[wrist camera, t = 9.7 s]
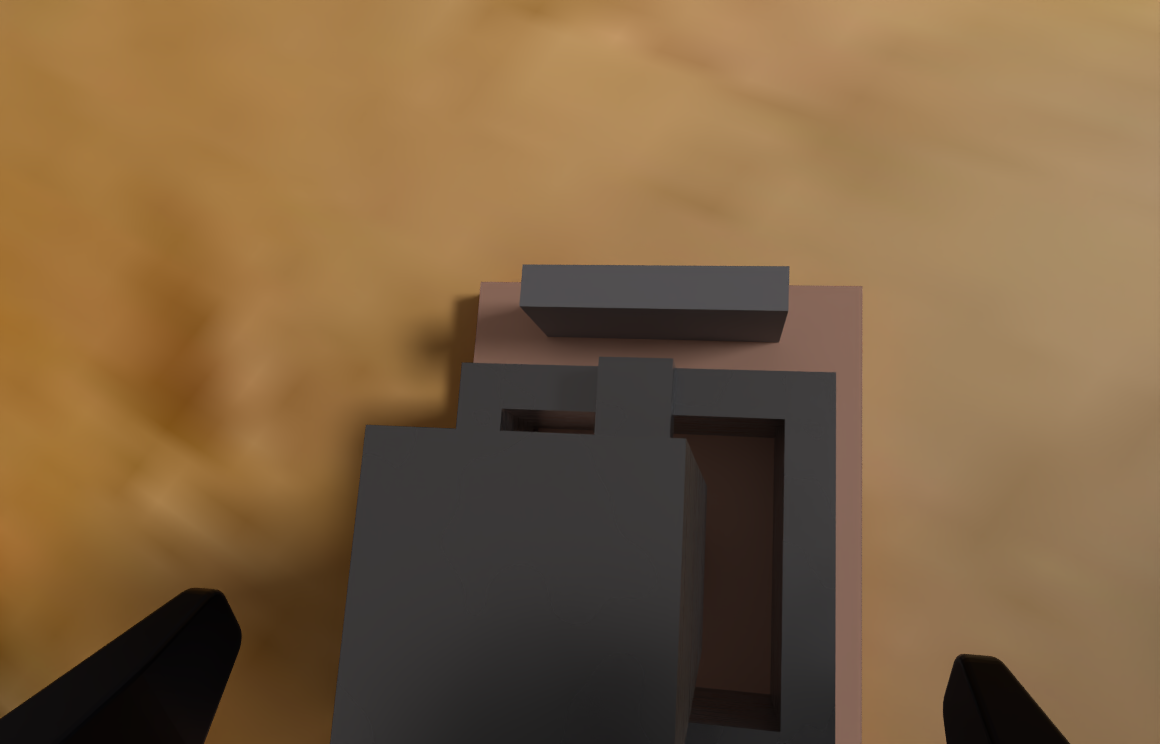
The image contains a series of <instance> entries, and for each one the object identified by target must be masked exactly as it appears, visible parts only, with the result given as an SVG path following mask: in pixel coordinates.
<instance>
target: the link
mask: <svg viewBox="0 0 1160 744" xmlns="http://www.w3.org/2000/svg"><path fill="white" fill-rule="evenodd" d="M538 428H549V429H573V430H595V431H594V435H592V434H568V433H545V432H538ZM673 434H693V435H717V436H741V437H765V438H774V496H773V556H772V616H771V676H770V694H762V693H752V692H742V691H732V690H722V689H712V688H702V687H695V685H696V680H697V674H698V669H699V663H700V658H701V652H702V631H703V600H704V569H705V538H706V506H707V485H706V483H705V481H704V478H703V476H702V474H701V472H700V469H699V467H698V465H697V462H696V460H695V458H694V455H693V453H692V451H691V449H690V446H689V444H688V442H687V439H685V438H673ZM835 672H836V372H804V371H766V370H728V369H690V368H676V366H675V363H674V360H673V358H638V357H599V363H598V366H575V365H537V364H499V363H462V369H461V379H460V390H459V401H458V412H457V423H456V429H451V428H428V427H404V426H381V425H366V429H365V438H364V447H363V456H362V465H361V474H360V483H359V491H358V500H357V509H356V518H355V527H354V536H353V545H352V554H351V563H350V572H349V581H348V589H347V598H346V607H345V616H344V625H343V634H342V643H341V652H340V661H339V670H338V679H337V687H336V696H335V705H334V714H333V723H332V732H331V741H330V744H835Z"/></svg>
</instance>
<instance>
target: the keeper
mask: <svg viewBox="0 0 1160 744" xmlns="http://www.w3.org/2000/svg"><path fill="white" fill-rule="evenodd" d="M599 357H638V358H673V360H674V363H675V366H676V368H690V369H728V370H766V371H804V372H836V672H835V744H862V286H793V285H789V266H645V265H523V268H522V280H521V282H481V287H480V298H479V308H478V319H477V330H476V340H475V351H474V362H473V363H499V364H537V365H575V366H598V363H599ZM594 431H595V430H573V429H549V428H538V432H545V433H568V434H592V435H594ZM673 438H685V439H687V442H688V444H689V446H690V449H691V451H692V453H693V455H694V458H695V460H696V462H697V465H698V467H699V469H700V472H701V474H702V476H703V478H704V481H705V483H706V485H707V506H706V538H705V569H704V600H703V631H702V652H701V658H700V663H699V669H698V674H697V680H696V685H695V687H702V688H712V689H722V690H732V691H742V692H752V693H762V694H770V676H771V616H772V556H773V496H774V438H765V437H741V436H717V435H693V434H673Z"/></svg>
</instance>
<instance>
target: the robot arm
mask: <svg viewBox="0 0 1160 744" xmlns="http://www.w3.org/2000/svg"><path fill="white" fill-rule="evenodd" d="M241 638H242V634H241V629H240V626H239V624H238V622H237V620H236V618H235V616H234V614H233V612H232V610H231V607H230V605H229V603H228V601H227V599H226V597H225V596H224V594H223V593H222V592H220V591H219V590H215V589H204V588H191V589H188V590H185V591H184V592H182V593H180V594H179V595H177V596H176V597H175V598H173V599H172V600H170V601H169V602H167V603H166V604H165V605H163V606H162V607H160V608H159V609H157V610H156V611H154V612H153V613H152V614H150V615H149V616H147V617H146V618H144V619H143V620H142V621H140V622H139V623H137V624H136V625H134V626H133V627H131V628H130V629H129V630H127V631H126V632H124V633H123V634H121V635H120V636H119V637H117V638H116V639H114V640H113V641H111V642H110V643H108V644H107V645H106V646H104V647H103V648H101V649H100V650H98V651H97V652H96V653H94V654H93V655H91V656H90V657H88V658H87V659H86V660H84V661H83V662H81V663H80V664H78V665H77V666H75V667H74V668H73V669H71V670H70V671H68V672H67V673H65V674H64V675H63V676H61V677H60V678H58V679H57V680H55V681H54V682H52V683H51V684H50V685H48V686H47V687H45V688H44V689H42V690H41V691H40V692H38V693H37V694H35V695H34V696H32V697H31V698H29V699H28V700H27V701H25V702H24V703H22V704H21V705H19V706H18V707H17V708H15V709H14V710H12V711H11V712H9V713H8V714H7V715H5V716H4V717H2V718H1V719H0V744H204V742H205V739H206V737H207V734H208V731H209V729H210V726H211V724H212V721H213V718H214V716H215V713H216V710H217V708H218V705H219V702H220V700H221V697H222V694H223V692H224V689H225V686H226V684H227V681H228V679H229V676H230V673H231V671H232V668H233V665H234V663H235V660H236V657H237V655H238V652H239V649H240V645H241ZM943 718H944V727H945V734H946V742H947V744H1070V743H1069V742H1068V741H1067V739H1066V738H1065V737H1064V736H1063V735H1062V733H1061V732H1060V731H1059V730H1058V728H1057V727H1056V726H1055V725H1054V724H1053V722H1052V721H1051V720H1050V719H1049V718H1048V716H1047V715H1046V714H1045V713H1044V712H1043V710H1042V709H1041V708H1040V707H1039V705H1038V704H1037V703H1036V702H1035V701H1034V699H1033V698H1032V697H1031V696H1030V695H1029V693H1028V692H1027V691H1026V690H1025V689H1024V687H1023V686H1022V685H1021V684H1020V682H1019V681H1018V680H1017V679H1016V678H1015V676H1014V675H1013V674H1012V673H1011V672H1010V670H1009V669H1008V668H1007V667H1006V666H1005V664H1004V663H1003V662H1002V661H1000V660H999V659H997V658H995V657H992V656H983V655H972V654H960V655H959V656H957V657H956V659H955V661H954V664H953V668H952V671H951V674H950V678H949V681H948V685H947V688H946V692H945V695H944V701H943Z"/></svg>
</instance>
